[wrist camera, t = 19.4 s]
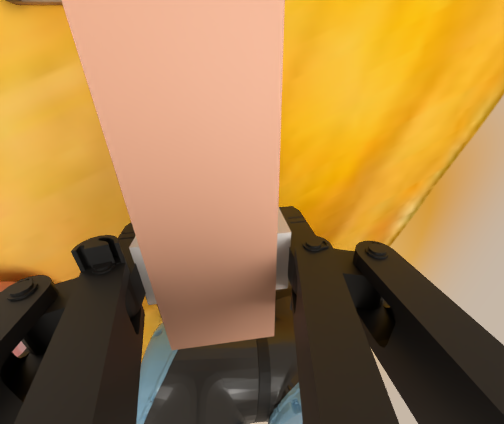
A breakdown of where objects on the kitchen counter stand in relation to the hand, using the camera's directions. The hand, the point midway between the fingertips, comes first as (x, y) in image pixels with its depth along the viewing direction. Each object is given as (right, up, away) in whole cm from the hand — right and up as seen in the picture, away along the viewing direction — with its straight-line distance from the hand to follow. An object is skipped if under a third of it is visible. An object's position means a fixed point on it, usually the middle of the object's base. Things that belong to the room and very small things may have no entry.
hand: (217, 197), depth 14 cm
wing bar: (0, +5, -7) cm, 9 cm away
